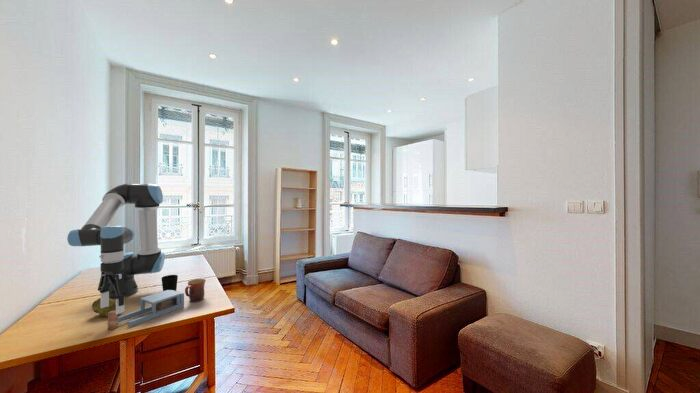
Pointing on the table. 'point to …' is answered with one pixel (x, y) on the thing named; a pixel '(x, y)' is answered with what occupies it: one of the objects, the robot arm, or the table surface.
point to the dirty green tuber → (104, 311)
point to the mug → (195, 289)
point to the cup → (169, 282)
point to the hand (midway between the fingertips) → (112, 310)
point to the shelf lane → (153, 299)
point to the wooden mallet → (114, 322)
